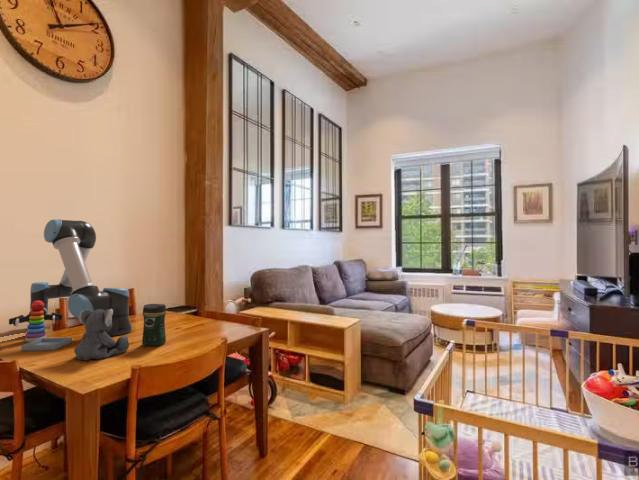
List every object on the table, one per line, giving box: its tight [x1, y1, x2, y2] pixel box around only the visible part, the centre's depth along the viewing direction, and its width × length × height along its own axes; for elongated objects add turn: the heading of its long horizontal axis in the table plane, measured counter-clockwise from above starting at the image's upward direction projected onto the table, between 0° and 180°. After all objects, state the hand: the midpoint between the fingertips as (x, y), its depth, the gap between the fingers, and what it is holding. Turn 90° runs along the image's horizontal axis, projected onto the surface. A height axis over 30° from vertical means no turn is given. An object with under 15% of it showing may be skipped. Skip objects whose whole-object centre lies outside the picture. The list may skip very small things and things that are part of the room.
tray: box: [20, 337, 73, 352], centre depth 158 cm, size 13×13×2 cm
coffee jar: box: [141, 303, 167, 347], centre depth 164 cm, size 10×8×19 cm
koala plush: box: [73, 309, 130, 361], centre depth 147 cm, size 17×18×20 cm
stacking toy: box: [24, 300, 47, 343], centre depth 167 cm, size 8×8×19 cm
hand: (35, 322), depth 166 cm, fingers open, 13 cm apart
